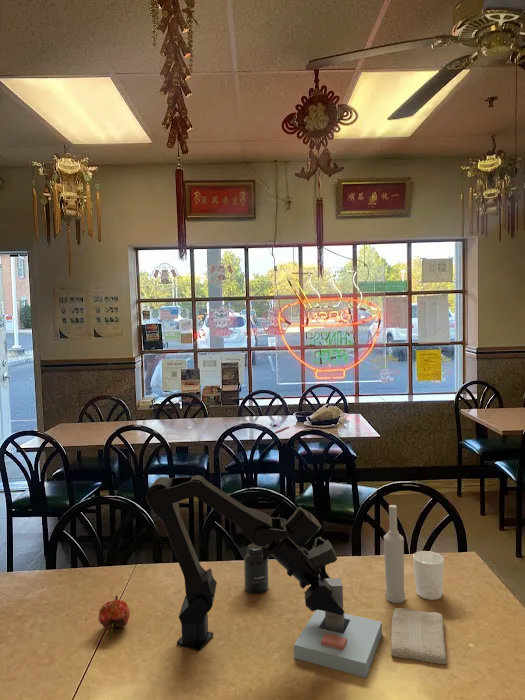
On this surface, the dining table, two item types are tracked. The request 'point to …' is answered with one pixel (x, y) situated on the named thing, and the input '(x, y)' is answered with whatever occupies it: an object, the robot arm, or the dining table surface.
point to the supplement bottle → (255, 570)
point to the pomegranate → (114, 614)
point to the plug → (335, 620)
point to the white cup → (428, 574)
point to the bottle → (394, 560)
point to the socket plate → (340, 644)
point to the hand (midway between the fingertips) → (340, 602)
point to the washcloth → (418, 636)
